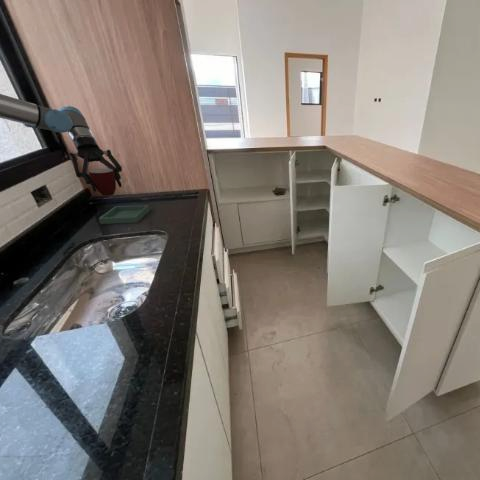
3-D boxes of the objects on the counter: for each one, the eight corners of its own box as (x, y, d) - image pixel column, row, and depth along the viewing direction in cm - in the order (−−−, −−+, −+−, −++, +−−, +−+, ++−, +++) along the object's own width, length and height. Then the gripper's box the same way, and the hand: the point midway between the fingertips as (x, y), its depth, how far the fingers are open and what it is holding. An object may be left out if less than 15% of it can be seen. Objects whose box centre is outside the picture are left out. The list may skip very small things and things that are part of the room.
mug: (100, 190, 115) (93, 167, 111) (123, 189, 118) (117, 167, 114) (93, 198, 107) (85, 173, 102) (117, 196, 110) (110, 172, 105)
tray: (100, 224, 114) (98, 218, 113) (117, 211, 127) (115, 206, 125) (137, 222, 116) (135, 217, 115) (150, 210, 129) (148, 205, 128)
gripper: (114, 145, 120) (136, 187, 118) (53, 150, 107) (77, 197, 105) (113, 133, 115) (136, 177, 113) (48, 137, 101) (73, 187, 99)
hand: (107, 187), depth 109 cm, fingers closed on mug, 8 cm apart
